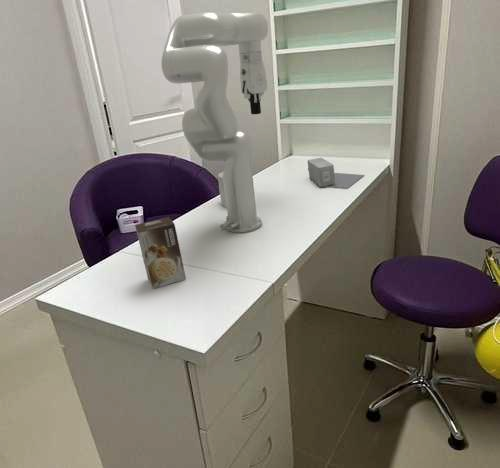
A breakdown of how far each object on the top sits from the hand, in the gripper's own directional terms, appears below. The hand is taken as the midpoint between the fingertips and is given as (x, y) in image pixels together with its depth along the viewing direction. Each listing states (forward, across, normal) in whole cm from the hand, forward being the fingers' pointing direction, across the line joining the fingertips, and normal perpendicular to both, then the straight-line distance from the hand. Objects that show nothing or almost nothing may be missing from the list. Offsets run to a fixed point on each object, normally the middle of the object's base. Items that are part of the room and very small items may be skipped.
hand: (256, 113), depth 151 cm
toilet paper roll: (+32, -7, +8) cm, 34 cm away
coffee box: (+32, -63, -10) cm, 72 cm away
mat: (+32, +29, -19) cm, 47 cm away
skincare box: (+28, +19, -17) cm, 38 cm away
